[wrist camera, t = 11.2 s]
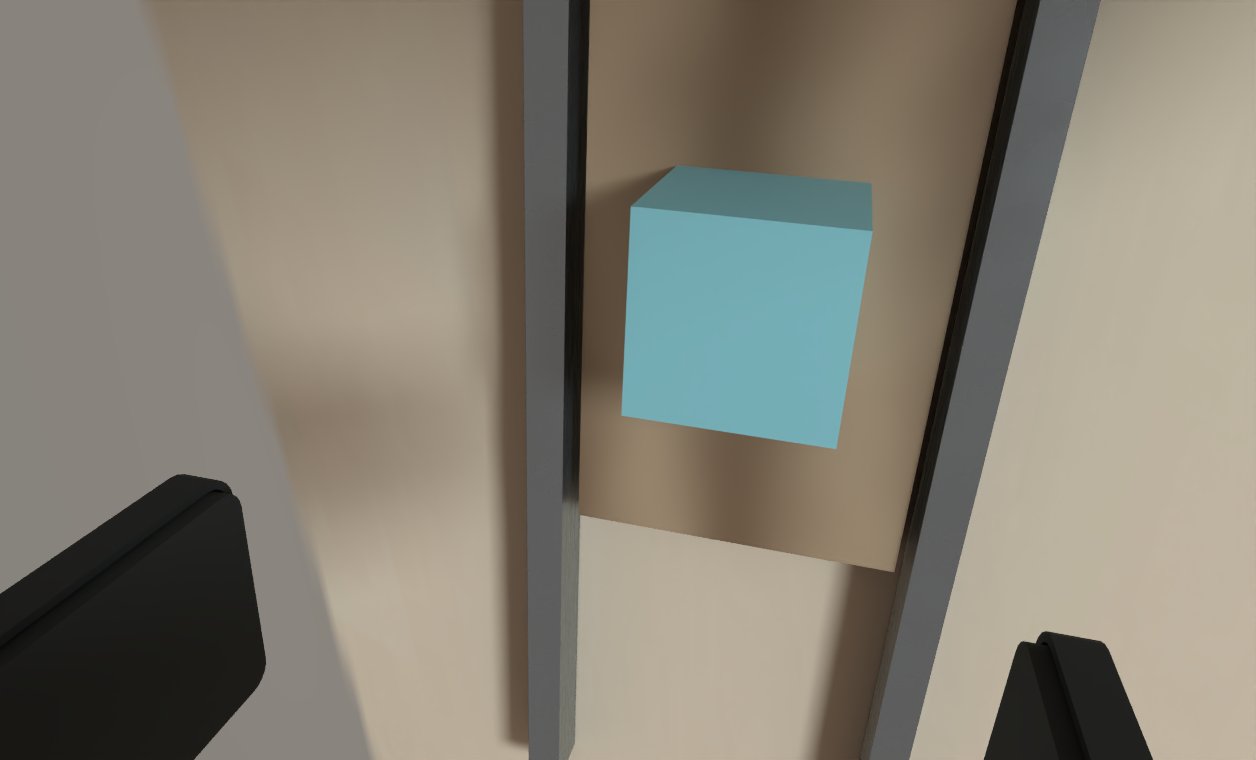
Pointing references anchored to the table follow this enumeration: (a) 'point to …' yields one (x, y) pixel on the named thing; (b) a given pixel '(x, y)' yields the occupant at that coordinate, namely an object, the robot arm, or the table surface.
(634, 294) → the teal block
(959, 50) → the tan track base
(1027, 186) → the guide rails
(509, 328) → the table surface
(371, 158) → the table surface
